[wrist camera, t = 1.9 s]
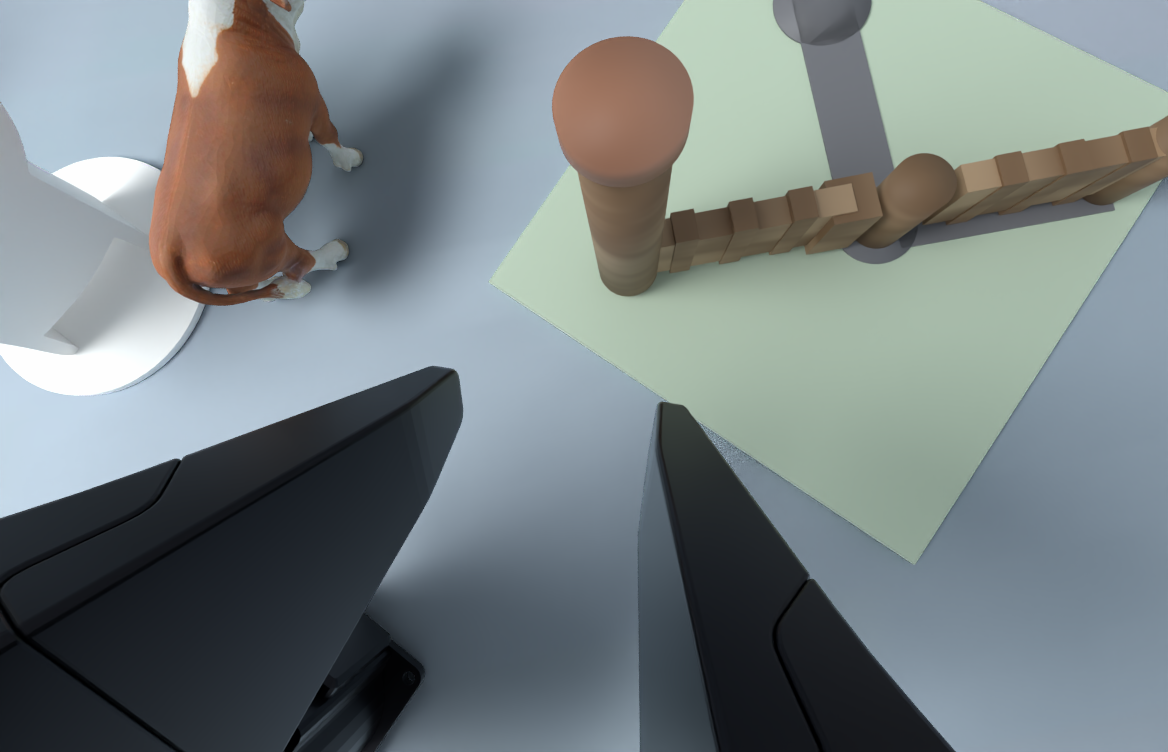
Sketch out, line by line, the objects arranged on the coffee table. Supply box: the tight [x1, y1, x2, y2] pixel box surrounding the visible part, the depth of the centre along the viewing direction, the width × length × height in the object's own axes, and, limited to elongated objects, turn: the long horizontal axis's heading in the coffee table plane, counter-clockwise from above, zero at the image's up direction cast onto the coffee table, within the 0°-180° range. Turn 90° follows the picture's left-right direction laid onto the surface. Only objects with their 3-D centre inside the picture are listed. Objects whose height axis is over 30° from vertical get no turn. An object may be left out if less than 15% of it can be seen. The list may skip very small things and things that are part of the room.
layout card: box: [489, 0, 1168, 565], centre depth 21 cm, size 21×20×1 cm
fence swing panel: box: [552, 36, 883, 296], centre depth 16 cm, size 10×3×11 cm, turn 99°
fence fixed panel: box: [856, 116, 1168, 249], centre depth 19 cm, size 10×2×4 cm, turn 99°
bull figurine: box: [149, 0, 363, 306], centre depth 20 cm, size 4×14×8 cm, turn 167°
